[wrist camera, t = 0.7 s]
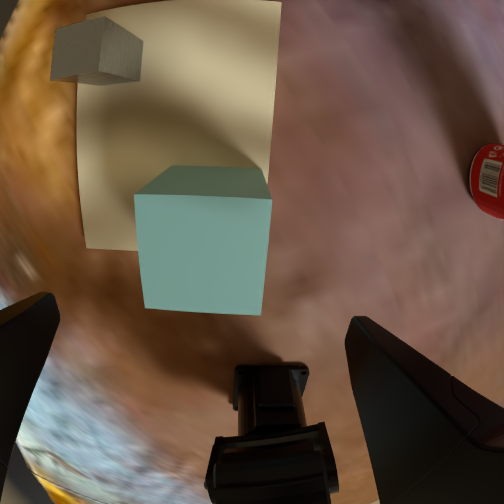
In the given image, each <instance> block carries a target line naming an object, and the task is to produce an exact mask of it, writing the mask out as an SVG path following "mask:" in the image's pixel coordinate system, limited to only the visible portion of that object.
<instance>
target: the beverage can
mask: <svg viewBox="0 0 504 504" xmlns="http://www.w3.org/2000/svg"><path fill="white" fill-rule="evenodd" d="M470 189H471V193H472V196H473V199H474V201H475V203H476V204H477V206H478V207H479V208H480V209H481V210H482V211H484V212H485V213H487V214H490V215H492V216H494V217H496V218H498V219H500V220H502V221H504V145H501V144H493V143H491V144H487V145H485V146H483V147H482V148H481V149H480V150H479V151H478V152H477V154H476V155H475V157H474V159H473V162H472V165H471V168H470Z"/></svg>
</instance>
